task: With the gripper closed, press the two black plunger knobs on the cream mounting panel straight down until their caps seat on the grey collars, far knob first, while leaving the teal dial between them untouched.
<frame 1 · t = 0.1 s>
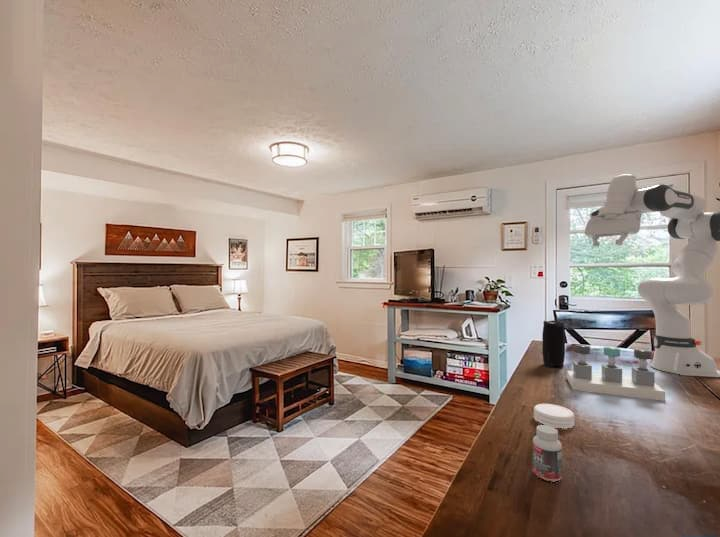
hand: (606, 245, 139), 52 cm above the table, tool tilted 20°, fingers open, 8 cm apart
teal dial: (611, 356, 126), point 11 cm above the table, slide at 0.0 cm
pill bottle: (547, 476, 73), on the table
white jar lid: (553, 422, 99), on the table
portable speaker: (553, 366, 155), on the table
near knob: (642, 359, 122), point 11 cm above the table, slide at 0.0 cm
far knob: (582, 354, 129), point 11 cm above the table, slide at 0.0 cm
mount panel: (611, 388, 126), on the table
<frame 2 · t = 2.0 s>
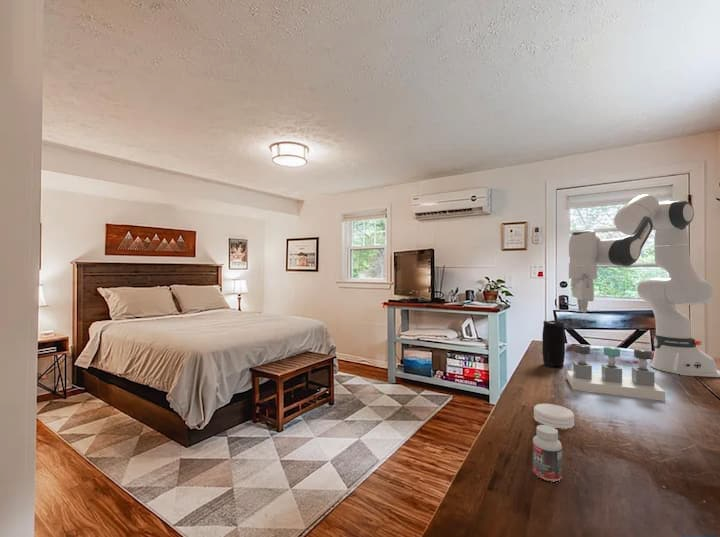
hand: (582, 311, 129), 27 cm above the table, tool pointing down, fingers open, 3 cm apart
nothing on the table moved.
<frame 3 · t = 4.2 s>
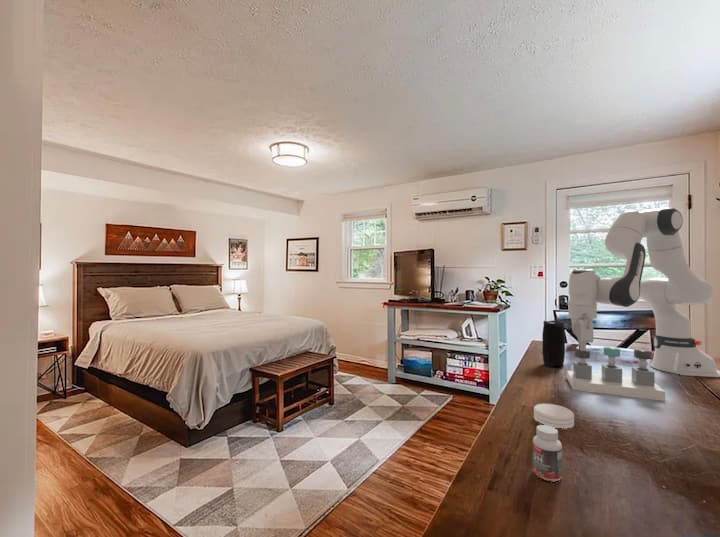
hand: (582, 350, 129), 13 cm above the table, tool pointing down, fingers closed, pressing on far knob
far knob: (582, 358, 129), point 10 cm above the table, slide at 1.6 cm, touching gripper
everything else where it was.
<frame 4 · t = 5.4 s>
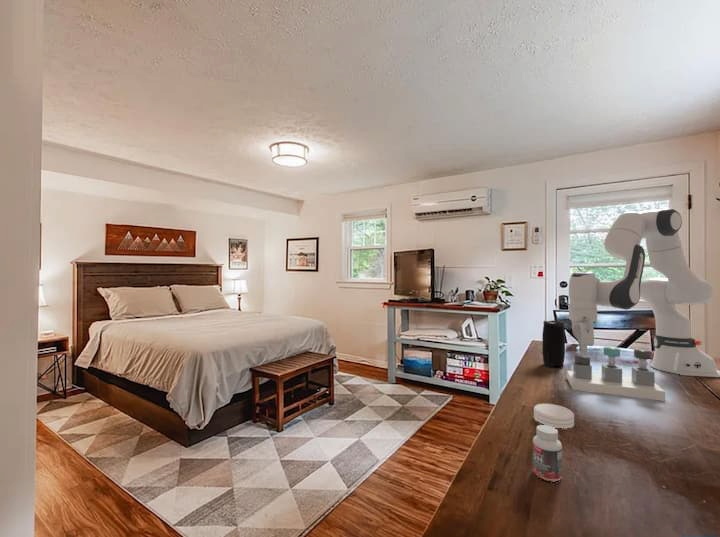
hand: (582, 352, 130), 12 cm above the table, tool pointing down, fingers closed
far knob: (582, 365, 129), point 7 cm above the table, slide at 3.9 cm
everything else where it was.
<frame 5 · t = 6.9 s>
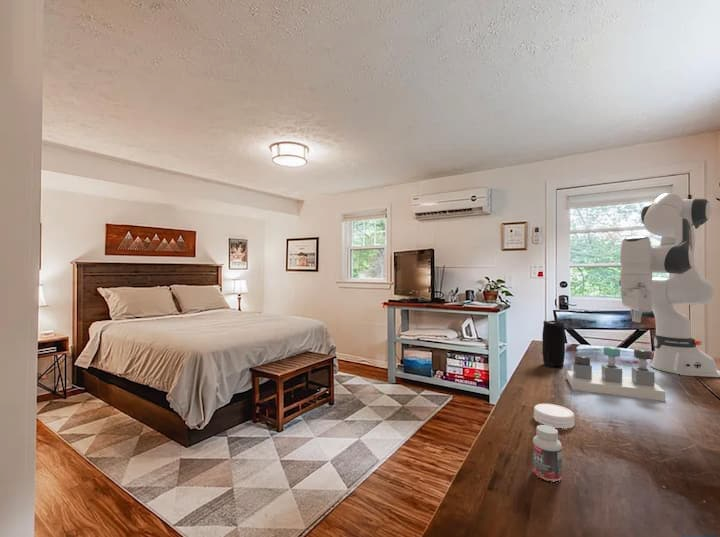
hand: (636, 321, 123), 24 cm above the table, tool pointing down, fingers closed
nothing on the table moved.
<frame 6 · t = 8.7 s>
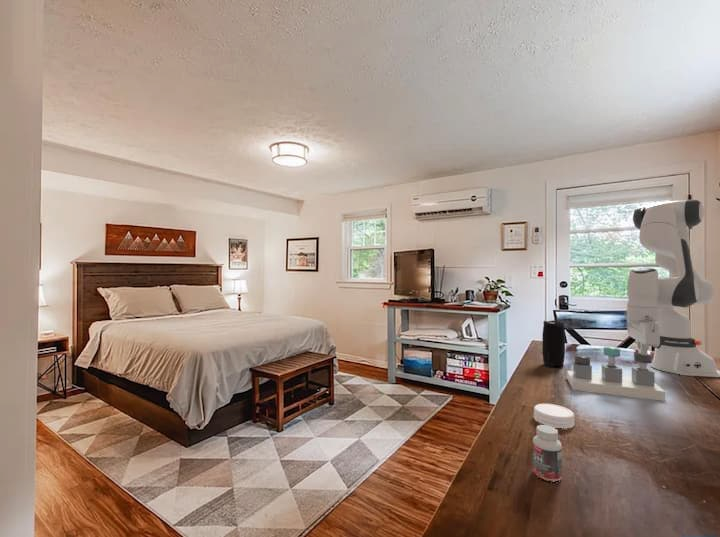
hand: (642, 354, 122), 13 cm above the table, tool pointing down, fingers closed, pressing on near knob
near knob: (642, 363, 122), point 10 cm above the table, slide at 1.3 cm, touching gripper
everything else where it was.
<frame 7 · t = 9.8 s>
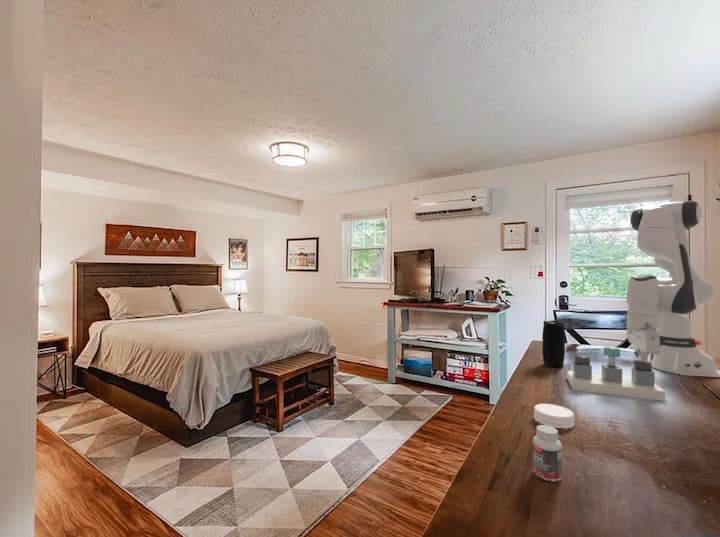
hand: (642, 361, 122), 11 cm above the table, tool pointing down, fingers closed
near knob: (642, 371, 122), point 7 cm above the table, slide at 4.0 cm
everything else where it was.
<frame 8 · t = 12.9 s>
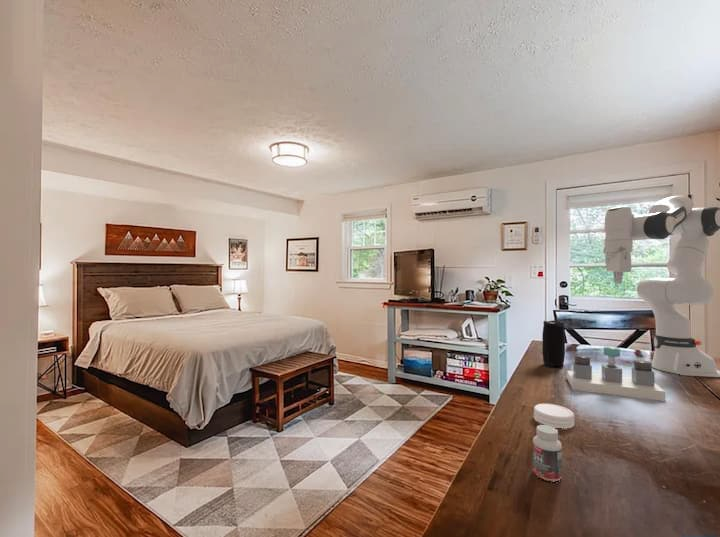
hand: (618, 283, 137), 37 cm above the table, tool pointing down, fingers closed
nothing on the table moved.
at the end: far knob slide at 3.9 cm; near knob slide at 4.0 cm; teal dial slide at 0.0 cm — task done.
